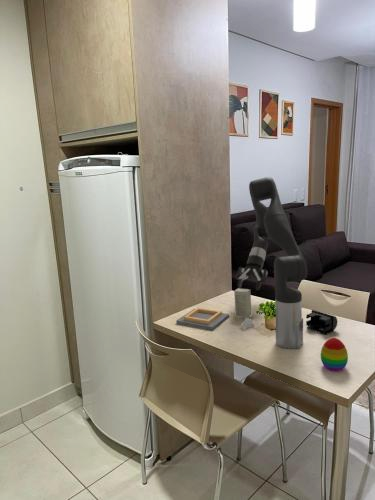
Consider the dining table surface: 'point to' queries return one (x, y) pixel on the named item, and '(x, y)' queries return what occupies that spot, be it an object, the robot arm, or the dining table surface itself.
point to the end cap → (321, 322)
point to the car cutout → (247, 323)
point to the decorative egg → (334, 355)
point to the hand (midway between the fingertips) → (247, 288)
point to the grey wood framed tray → (203, 318)
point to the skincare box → (243, 303)
